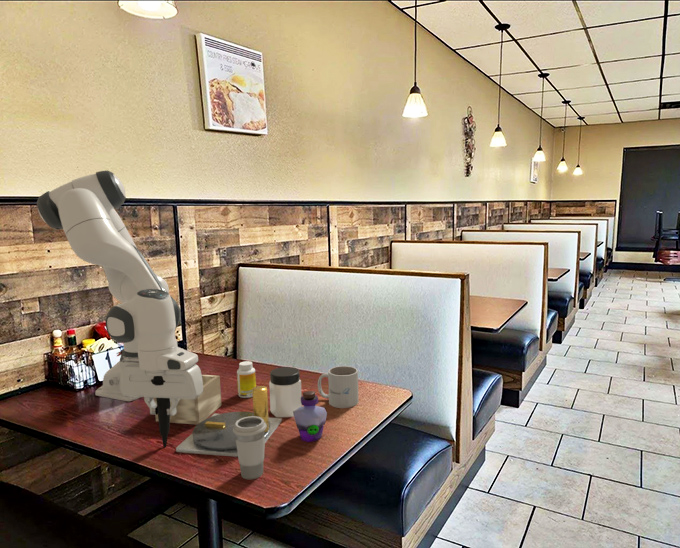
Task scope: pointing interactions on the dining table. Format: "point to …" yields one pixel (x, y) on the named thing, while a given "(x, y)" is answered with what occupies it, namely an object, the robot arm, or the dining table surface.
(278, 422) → the base
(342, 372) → the mug
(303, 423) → the potion bottle
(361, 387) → the dining table surface
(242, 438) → the cup
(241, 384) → the supplement bottle
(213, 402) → the open wooden box
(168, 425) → the microphone
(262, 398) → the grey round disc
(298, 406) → the jar
